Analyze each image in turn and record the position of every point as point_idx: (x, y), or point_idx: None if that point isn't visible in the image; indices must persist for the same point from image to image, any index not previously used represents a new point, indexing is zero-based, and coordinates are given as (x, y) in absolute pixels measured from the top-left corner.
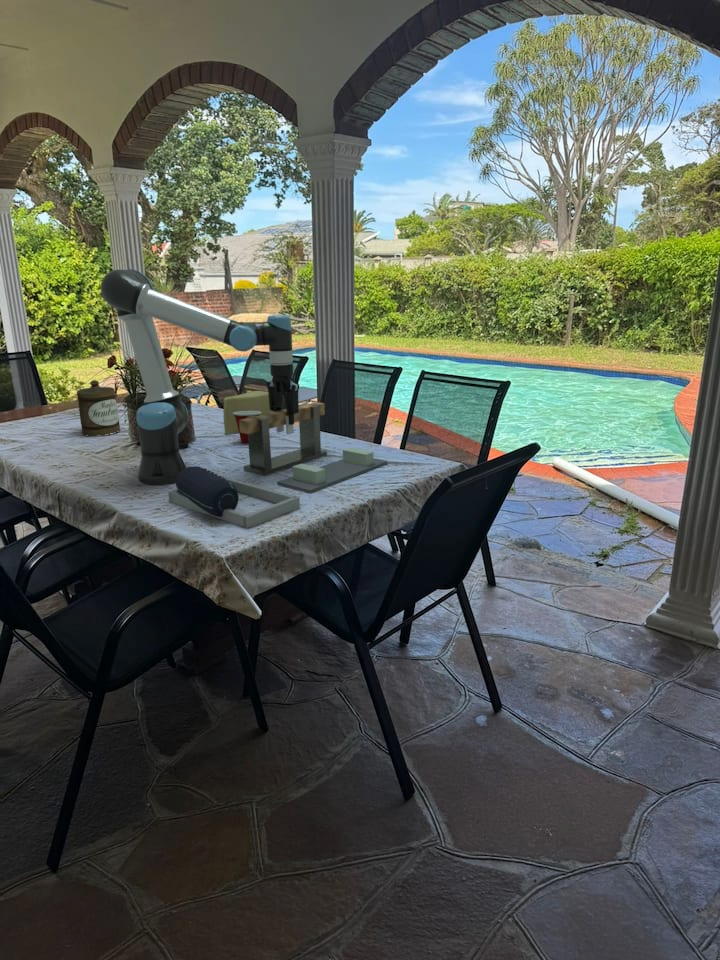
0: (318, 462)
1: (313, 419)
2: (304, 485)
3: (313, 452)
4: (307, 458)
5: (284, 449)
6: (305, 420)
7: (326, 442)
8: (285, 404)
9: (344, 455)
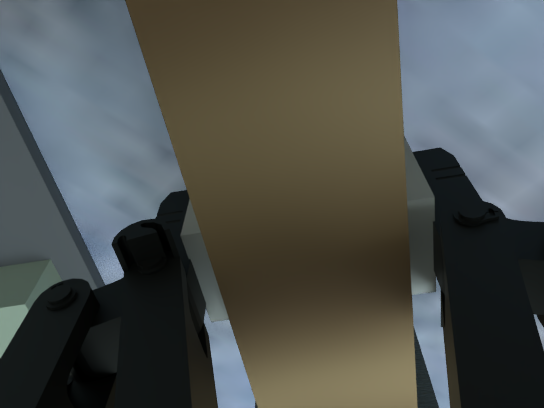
0: (166, 185)
1: None
2: None
3: None
4: None
5: (540, 201)
6: None
7: (444, 387)
8: (187, 375)
9: (26, 284)
